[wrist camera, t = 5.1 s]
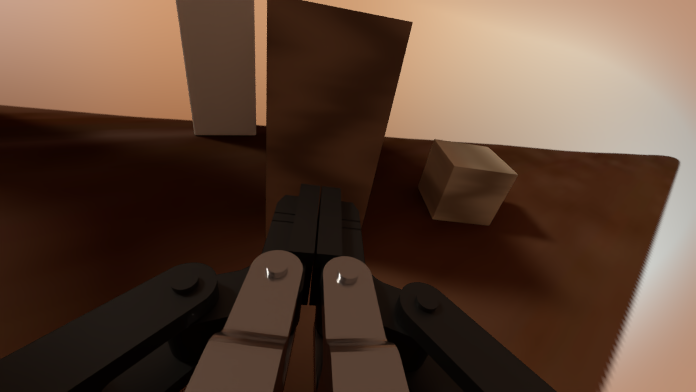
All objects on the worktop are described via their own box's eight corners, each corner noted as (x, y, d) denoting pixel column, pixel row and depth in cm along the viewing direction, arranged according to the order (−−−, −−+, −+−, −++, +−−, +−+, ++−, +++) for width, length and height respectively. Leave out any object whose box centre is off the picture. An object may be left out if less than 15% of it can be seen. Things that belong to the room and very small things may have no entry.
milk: (196, 115, 33) (156, -177, 21) (250, 117, 35) (243, -144, 23) (194, 136, 28) (142, -221, 16) (257, 136, 31) (251, -176, 19)
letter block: (432, 220, 23) (454, 166, 20) (417, 187, 27) (434, 139, 24) (491, 226, 24) (520, 175, 21) (467, 193, 28) (490, 147, 25)
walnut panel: (265, 238, 18) (267, -7, 11) (294, 144, 31) (303, 1, 24) (359, 247, 19) (416, 22, 12) (349, 152, 31) (374, 15, 24)
